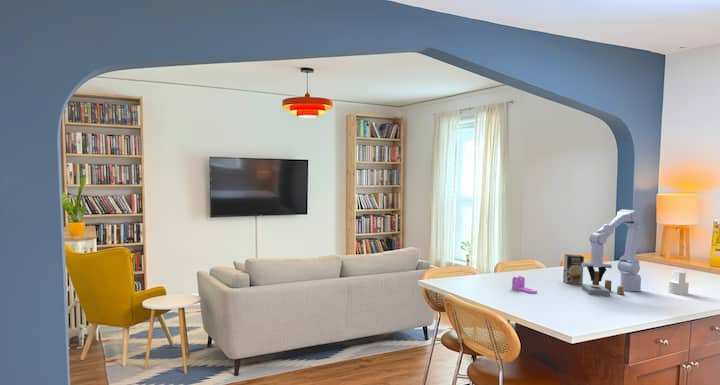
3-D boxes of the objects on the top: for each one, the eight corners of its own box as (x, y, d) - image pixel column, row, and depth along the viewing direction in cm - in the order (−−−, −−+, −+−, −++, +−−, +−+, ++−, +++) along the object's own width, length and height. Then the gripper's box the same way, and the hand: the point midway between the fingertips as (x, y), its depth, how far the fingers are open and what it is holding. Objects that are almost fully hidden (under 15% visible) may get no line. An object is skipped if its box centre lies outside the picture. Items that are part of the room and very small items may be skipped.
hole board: (601, 289, 265) (601, 285, 265) (610, 295, 252) (610, 291, 251) (581, 288, 267) (582, 284, 267) (589, 294, 253) (589, 289, 253)
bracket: (511, 289, 262) (512, 276, 261) (518, 288, 265) (519, 275, 265) (532, 294, 251) (532, 280, 251) (539, 293, 254) (539, 279, 254)
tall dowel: (598, 284, 261) (598, 271, 260) (599, 285, 257) (600, 272, 257) (591, 283, 261) (592, 270, 261) (593, 285, 258) (593, 271, 258)
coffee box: (566, 283, 279) (567, 255, 279) (562, 281, 286) (563, 254, 285) (582, 284, 278) (584, 256, 278) (579, 282, 285) (580, 254, 284)
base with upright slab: (691, 295, 257) (692, 273, 257) (672, 294, 259) (673, 272, 259) (683, 291, 266) (684, 270, 266) (665, 290, 268) (666, 269, 268)
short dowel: (622, 293, 258) (622, 286, 257) (624, 295, 254) (625, 287, 254) (616, 293, 258) (616, 285, 258) (618, 294, 255) (618, 287, 255)
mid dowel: (609, 290, 265) (610, 280, 265) (611, 291, 262) (612, 281, 262) (603, 289, 266) (604, 279, 266) (605, 291, 263) (606, 281, 262)
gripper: (608, 255, 262) (607, 280, 262) (580, 253, 264) (579, 278, 264) (613, 257, 255) (612, 282, 255) (584, 255, 257) (583, 281, 257)
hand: (595, 280), depth 259 cm, fingers closed on tall dowel, 3 cm apart
